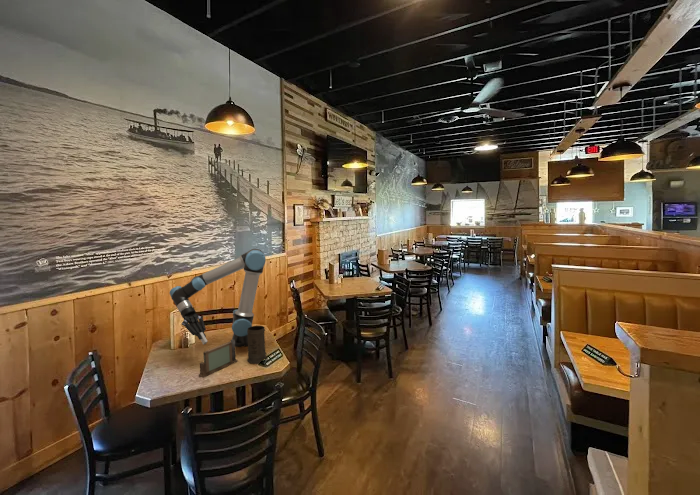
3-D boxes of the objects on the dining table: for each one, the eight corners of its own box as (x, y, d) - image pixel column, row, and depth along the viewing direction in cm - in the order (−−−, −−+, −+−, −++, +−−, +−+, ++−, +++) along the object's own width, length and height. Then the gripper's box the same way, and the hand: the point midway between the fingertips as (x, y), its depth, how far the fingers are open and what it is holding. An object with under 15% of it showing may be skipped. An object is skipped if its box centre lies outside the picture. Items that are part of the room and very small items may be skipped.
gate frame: (233, 360, 200) (232, 338, 199) (237, 361, 198) (236, 340, 197) (198, 376, 180) (197, 352, 179) (202, 377, 178) (201, 353, 177)
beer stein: (265, 363, 195) (264, 329, 194) (246, 365, 193) (245, 330, 192) (267, 354, 210) (266, 322, 209) (249, 355, 208) (249, 323, 208)
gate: (230, 360, 197) (229, 341, 196) (232, 361, 196) (231, 342, 195) (204, 371, 182) (203, 351, 181) (206, 372, 181) (205, 352, 180)
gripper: (194, 310, 205) (212, 343, 198) (173, 316, 194) (192, 350, 187) (199, 303, 202) (218, 335, 195) (178, 308, 191) (197, 343, 184)
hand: (205, 343), depth 191 cm, fingers closed
